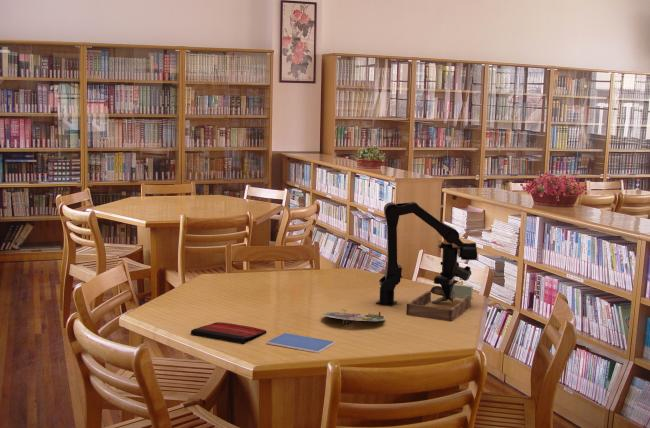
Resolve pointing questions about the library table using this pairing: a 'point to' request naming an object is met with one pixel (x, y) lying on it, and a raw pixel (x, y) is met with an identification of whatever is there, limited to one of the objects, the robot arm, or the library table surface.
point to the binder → (228, 332)
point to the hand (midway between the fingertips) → (447, 298)
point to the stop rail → (462, 291)
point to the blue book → (301, 343)
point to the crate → (434, 312)
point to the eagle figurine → (439, 291)
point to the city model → (354, 317)
